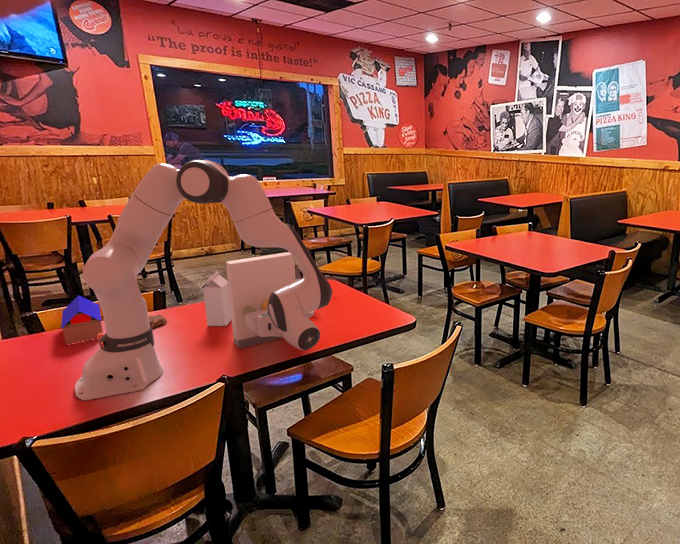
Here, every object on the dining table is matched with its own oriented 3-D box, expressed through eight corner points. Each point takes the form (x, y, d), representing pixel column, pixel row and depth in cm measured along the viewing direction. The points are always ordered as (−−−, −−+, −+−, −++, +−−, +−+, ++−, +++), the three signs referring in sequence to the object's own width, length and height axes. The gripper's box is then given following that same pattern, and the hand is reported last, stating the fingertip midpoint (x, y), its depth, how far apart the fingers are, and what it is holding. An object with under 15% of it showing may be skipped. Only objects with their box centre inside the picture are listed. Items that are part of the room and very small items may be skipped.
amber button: (264, 314, 144) (263, 303, 143) (261, 312, 146) (260, 301, 145) (275, 312, 146) (274, 301, 145) (272, 310, 148) (271, 298, 147)
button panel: (239, 348, 143) (231, 265, 135) (233, 342, 148) (225, 261, 140) (300, 333, 154) (296, 255, 146) (293, 327, 158) (289, 252, 151)
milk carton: (232, 319, 168) (227, 271, 163) (226, 326, 161) (220, 277, 156) (214, 319, 169) (209, 271, 164) (207, 326, 162) (201, 276, 157)
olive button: (244, 320, 139) (243, 308, 138) (242, 318, 142) (241, 306, 141) (256, 318, 141) (255, 306, 140) (254, 315, 144) (253, 304, 142)
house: (65, 347, 148) (58, 314, 145) (66, 327, 165) (60, 298, 162) (104, 338, 154) (99, 307, 151) (102, 320, 171) (96, 292, 168)
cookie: (131, 330, 161) (130, 322, 160) (148, 319, 171) (146, 312, 170) (157, 331, 160) (155, 323, 159) (171, 320, 170) (170, 313, 169)
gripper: (316, 304, 137) (297, 293, 149) (253, 318, 127) (238, 305, 139) (317, 323, 139) (298, 310, 150) (255, 338, 129) (240, 323, 140)
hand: (269, 308), depth 144 cm, fingers closed, pressing on amber button
